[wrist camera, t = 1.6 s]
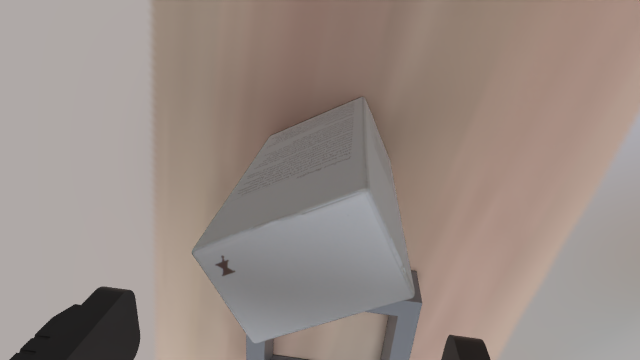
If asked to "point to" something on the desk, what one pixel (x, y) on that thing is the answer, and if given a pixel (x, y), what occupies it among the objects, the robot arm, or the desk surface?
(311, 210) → the skincare box
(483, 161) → the desk surface
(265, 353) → the frame
